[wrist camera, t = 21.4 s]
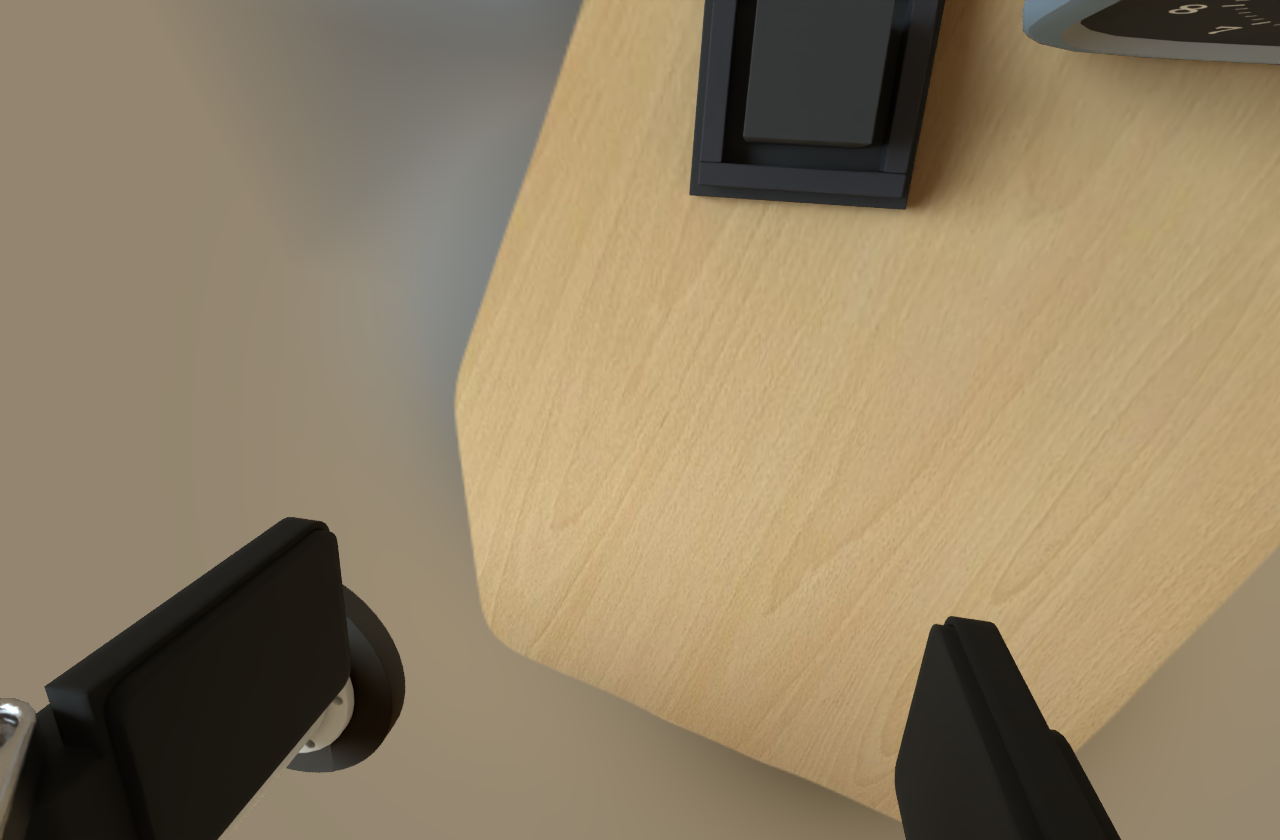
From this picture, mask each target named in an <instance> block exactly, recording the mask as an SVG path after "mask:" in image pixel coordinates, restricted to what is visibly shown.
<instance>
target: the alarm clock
mask: <svg viewBox="0 0 1280 840" xmlns="http://www.w3.org/2000/svg"><path fill="white" fill-rule="evenodd" d="M1023 31H1024V32H1025V33H1026V35H1027V36H1028V37H1029V38H1031V39H1033V40H1034V41H1036V42H1038V43H1040V44H1043V45H1047V46H1052V47H1056V48H1061V49H1066V50H1070V51H1075V52H1087V53H1098V54H1110V55H1122V56H1133V57H1145V58H1163V59H1182V60H1201V61H1220V62H1239V63H1258V64H1277V65H1280V0H1025V4H1024V8H1023Z"/></svg>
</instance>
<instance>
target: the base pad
mask: <svg viewBox="0 0 1280 840" xmlns="http://www.w3.org/2000/svg"><path fill="white" fill-rule="evenodd" d="M944 4H945V0H896V3H895V9H894V15H893V21H892V27H891V33H890V39H889V45H888V51H887V57H886V63H885V69H884V75H883V81H882V87H881V93H880V99H879V105H878V111H877V117H876V123H875V129H874V135H873V141H872V144H870V145H867V146H864V147H861V148H858V149H842V148H824V147H806V146H788V145H770V144H752V143H746V141H745V139H744V137H743V132H744V123H745V113H746V104H747V94H748V85H749V75H750V65H751V56H752V46H753V37H754V27H755V18H756V8H757V0H705V7H704V20H703V32H702V45H701V57H700V69H699V82H698V94H697V107H696V119H695V131H694V144H693V156H692V169H691V181H690V193H689V194H690V195H696V196H711V197H726V198H741V199H756V200H770V201H785V202H800V203H815V204H830V205H845V206H859V207H874V208H889V209H906V204H907V199H908V194H909V189H910V183H911V178H912V173H913V167H914V162H915V157H916V152H917V146H918V141H919V136H920V131H921V125H922V120H923V115H924V109H925V104H926V99H927V94H928V88H929V83H930V78H931V73H932V67H933V62H934V57H935V51H936V46H937V41H938V36H939V30H940V25H941V20H942V15H943V9H944Z"/></svg>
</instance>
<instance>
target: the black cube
mask: <svg viewBox="0 0 1280 840" xmlns="http://www.w3.org/2000/svg"><path fill="white" fill-rule="evenodd" d="M895 3H896V0H757V8H756V18H755V27H754V37H753V46H752V56H751V65H750V75H749V85H748V94H747V104H746V113H745V123H744V132H743V137H744V139H745V141H746V143H752V144H770V145H788V146H806V147H824V148H842V149H858V148H861V147H864V146H867V145H870V144H872V141H873V135H874V129H875V123H876V117H877V111H878V105H879V99H880V93H881V87H882V81H883V75H884V69H885V63H886V57H887V51H888V45H889V39H890V33H891V27H892V21H893V15H894V9H895Z"/></svg>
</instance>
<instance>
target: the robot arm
mask: <svg viewBox="0 0 1280 840" xmlns="http://www.w3.org/2000/svg"><path fill="white" fill-rule="evenodd" d="M350 672H351V657H350V648H349V639H348V630H347V622H346V613H345V604H344V595H343V587H342V578H341V569H340V561H339V552H338V543H337V538H336V536H335V534H333V533H332V532H330V531H329V528H328V526H327V525H326V524H325V523H323V522H322V521H315V520H308V519H301V518H295V517H287V518H285V519H283V520H281V521H279V522H278V523H277V524H275V525H274V526H272V527H271V528H270V529H268V530H267V531H265V532H264V533H262V534H261V535H260V536H258V537H257V538H255V539H254V540H253V541H251V542H250V543H248V544H247V545H245V546H244V547H243V548H241V549H240V550H239V551H237V552H235V553H234V554H233V555H231V556H230V557H228V558H227V559H225V560H224V561H223V562H221V563H220V564H218V565H217V566H215V567H214V568H213V569H211V570H210V571H208V572H207V573H206V574H204V575H203V576H201V577H200V578H199V579H197V580H196V581H194V582H193V583H191V584H190V585H189V586H187V587H186V588H184V589H183V590H181V591H180V592H178V593H177V594H176V595H174V596H173V597H171V598H170V599H168V600H167V601H166V602H164V603H163V604H161V605H160V606H159V607H157V608H156V609H154V610H153V611H151V612H150V613H149V614H147V615H146V616H144V617H143V618H142V619H140V620H139V621H137V622H136V623H134V624H133V625H132V626H130V627H129V628H127V629H126V630H124V631H123V632H122V633H120V634H119V635H117V636H116V637H114V638H113V639H112V640H110V641H109V642H107V643H106V644H104V645H103V646H102V647H100V648H99V649H97V650H96V651H94V652H93V653H92V654H90V655H89V656H87V657H86V658H85V659H83V660H82V661H80V662H79V663H77V664H76V665H75V666H73V667H72V668H70V669H69V670H68V671H66V672H65V673H63V674H62V675H60V676H59V677H57V678H56V679H55V680H53V681H52V682H51V683H49V684H48V685H46V686H45V689H46V693H47V696H48V699H49V702H50V704H49V705H47V706H46V707H45V708H43V709H42V710H41V711H39V712H38V713H35V710H34V709H33V708H32V707H31V706H30V705H29V703H27V702H24V701H21V700H18V699H14V698H0V840H228V838H229V837H230V836H231V835H232V834H233V832H234V831H235V830H236V829H237V827H238V826H239V825H240V823H241V822H242V821H243V820H244V819H245V817H246V816H247V815H248V814H249V813H250V811H251V810H252V809H253V808H254V807H255V805H256V804H257V803H258V802H259V800H260V799H261V798H262V797H263V795H264V794H265V793H266V792H267V791H268V789H269V788H270V787H271V786H272V784H273V783H274V782H275V781H276V780H277V778H278V777H279V776H280V775H281V773H282V772H283V771H284V770H285V768H286V767H287V766H288V765H289V764H290V762H291V761H292V760H293V759H294V757H295V756H296V755H297V754H298V753H308V752H312V751H316V750H320V749H322V748H324V747H326V746H328V745H330V744H331V743H332V742H333V741H334V740H336V739H337V738H338V737H339V736H340V734H341V733H342V732H343V730H344V729H345V728H346V726H347V725H348V723H349V721H350V719H351V717H352V715H353V710H354V704H355V699H354V688H353V684H352V681H351V677H350ZM895 789H896V795H897V800H898V804H899V809H900V814H901V819H902V823H903V828H904V833H905V837H906V840H1121V839H1120V837H1119V835H1118V834H1117V831H1116V830H1115V828H1114V826H1113V824H1112V822H1111V820H1110V818H1109V817H1108V815H1107V813H1106V811H1105V809H1104V807H1103V805H1102V803H1101V802H1100V800H1099V798H1098V796H1097V794H1096V792H1095V791H1094V789H1093V787H1092V785H1091V783H1090V781H1089V779H1088V778H1087V776H1086V774H1085V772H1084V770H1083V768H1082V766H1081V765H1080V763H1079V761H1078V760H1077V757H1076V755H1075V753H1074V752H1073V750H1072V748H1071V746H1070V745H1069V743H1068V742H1067V740H1066V739H1065V737H1064V736H1063V735H1062V734H1060V733H1059V732H1057V731H1056V730H1050V729H1049V727H1048V725H1047V723H1046V721H1045V719H1044V717H1043V715H1042V713H1041V711H1040V710H1039V708H1038V706H1037V704H1036V702H1035V700H1034V698H1033V696H1032V694H1031V692H1030V690H1029V688H1028V686H1027V684H1026V683H1025V681H1024V679H1023V677H1022V675H1021V673H1020V671H1019V669H1018V667H1017V665H1016V663H1015V661H1014V659H1013V657H1012V656H1011V654H1010V652H1009V650H1008V648H1007V646H1006V644H1005V642H1004V640H1003V638H1002V636H1001V634H1000V632H999V630H998V629H997V627H996V626H995V624H994V623H991V622H987V621H980V620H974V619H967V618H961V617H954V616H950V617H948V618H947V620H946V621H945V623H944V625H938V624H934V625H933V626H932V628H931V630H930V633H929V637H928V641H927V645H926V648H925V652H924V656H923V660H922V664H921V668H920V672H919V676H918V680H917V684H916V688H915V691H914V695H913V699H912V703H911V707H910V711H909V715H908V719H907V723H906V727H905V731H904V734H903V738H902V742H901V746H900V750H899V754H898V758H897V762H896V767H895Z"/></svg>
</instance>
